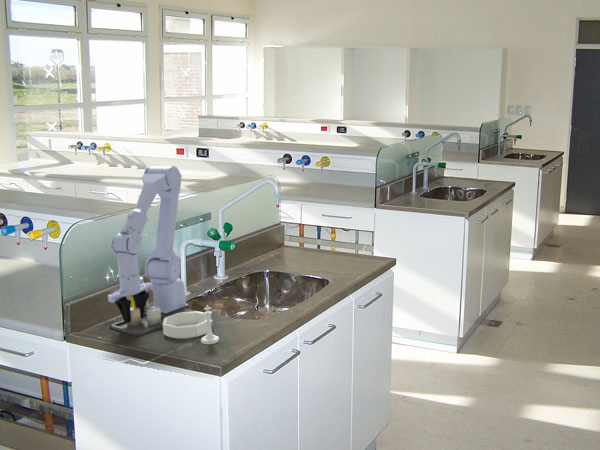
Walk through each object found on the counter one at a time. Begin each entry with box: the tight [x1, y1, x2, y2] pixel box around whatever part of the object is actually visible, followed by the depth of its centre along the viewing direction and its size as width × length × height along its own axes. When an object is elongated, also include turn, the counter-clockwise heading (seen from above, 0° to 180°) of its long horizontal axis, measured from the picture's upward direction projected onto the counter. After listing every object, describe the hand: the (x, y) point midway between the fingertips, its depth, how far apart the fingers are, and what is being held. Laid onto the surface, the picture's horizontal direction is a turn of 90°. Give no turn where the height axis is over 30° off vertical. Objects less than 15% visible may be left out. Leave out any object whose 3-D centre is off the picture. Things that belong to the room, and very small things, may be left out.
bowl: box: [162, 310, 212, 339], centre depth 199 cm, size 13×13×4 cm
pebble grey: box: [145, 306, 162, 327], centre depth 205 cm, size 4×4×4 cm
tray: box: [109, 311, 168, 337], centre depth 206 cm, size 14×13×1 cm
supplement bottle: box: [128, 276, 150, 312], centre depth 219 cm, size 6×6×10 cm
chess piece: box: [200, 304, 220, 345], centre depth 190 cm, size 5×5×10 cm
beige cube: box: [127, 307, 141, 326], centre depth 206 cm, size 4×4×4 cm
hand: (133, 319), depth 207 cm, fingers closed on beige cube, 4 cm apart
